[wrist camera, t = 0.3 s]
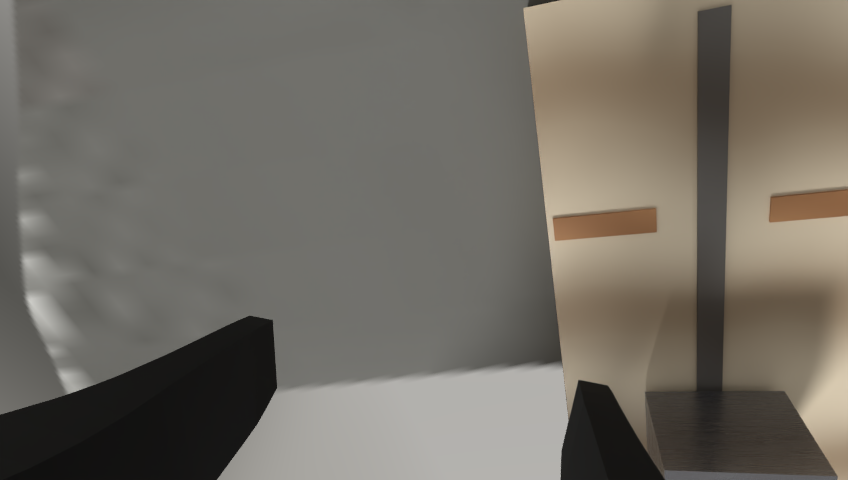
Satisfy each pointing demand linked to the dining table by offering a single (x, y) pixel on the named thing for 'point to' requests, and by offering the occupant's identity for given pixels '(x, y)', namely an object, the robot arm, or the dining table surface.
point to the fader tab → (731, 437)
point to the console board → (698, 198)
